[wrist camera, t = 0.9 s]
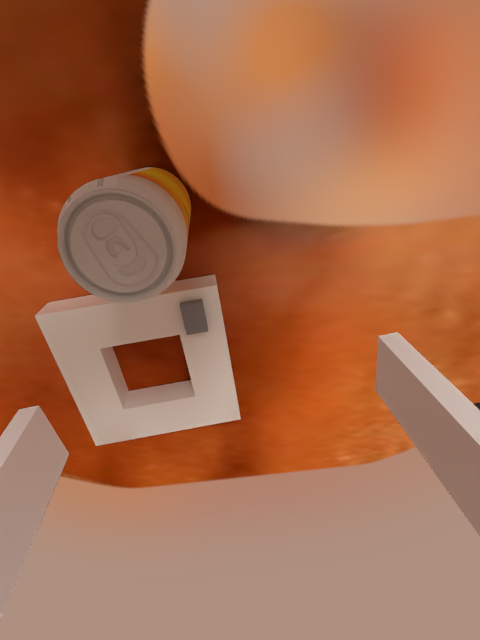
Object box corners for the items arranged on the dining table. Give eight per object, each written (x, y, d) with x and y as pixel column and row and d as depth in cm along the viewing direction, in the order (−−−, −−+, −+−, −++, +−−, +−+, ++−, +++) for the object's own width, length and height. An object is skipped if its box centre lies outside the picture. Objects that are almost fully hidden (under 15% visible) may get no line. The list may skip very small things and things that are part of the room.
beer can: (147, 252, 30) (108, 330, 17) (103, 191, 28) (15, 225, 14) (204, 218, 29) (209, 271, 16) (165, 151, 27) (132, 149, 13)
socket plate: (48, 302, 31) (30, 320, 28) (215, 274, 32) (217, 288, 28) (103, 425, 39) (93, 451, 35) (237, 401, 39) (241, 424, 36)
